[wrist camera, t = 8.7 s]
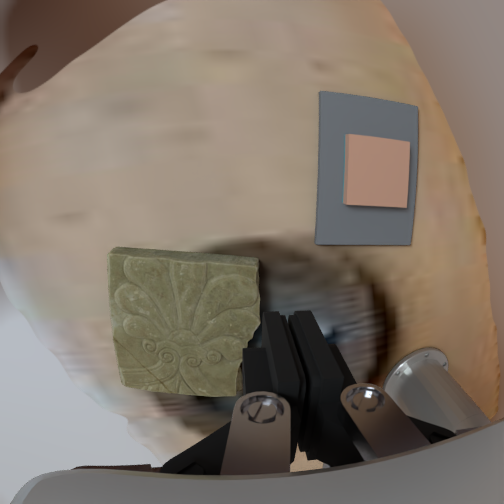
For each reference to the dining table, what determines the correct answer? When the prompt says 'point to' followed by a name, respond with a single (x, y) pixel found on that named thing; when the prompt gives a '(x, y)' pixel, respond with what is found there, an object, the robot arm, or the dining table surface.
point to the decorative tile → (182, 318)
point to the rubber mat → (332, 170)
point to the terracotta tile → (375, 171)
